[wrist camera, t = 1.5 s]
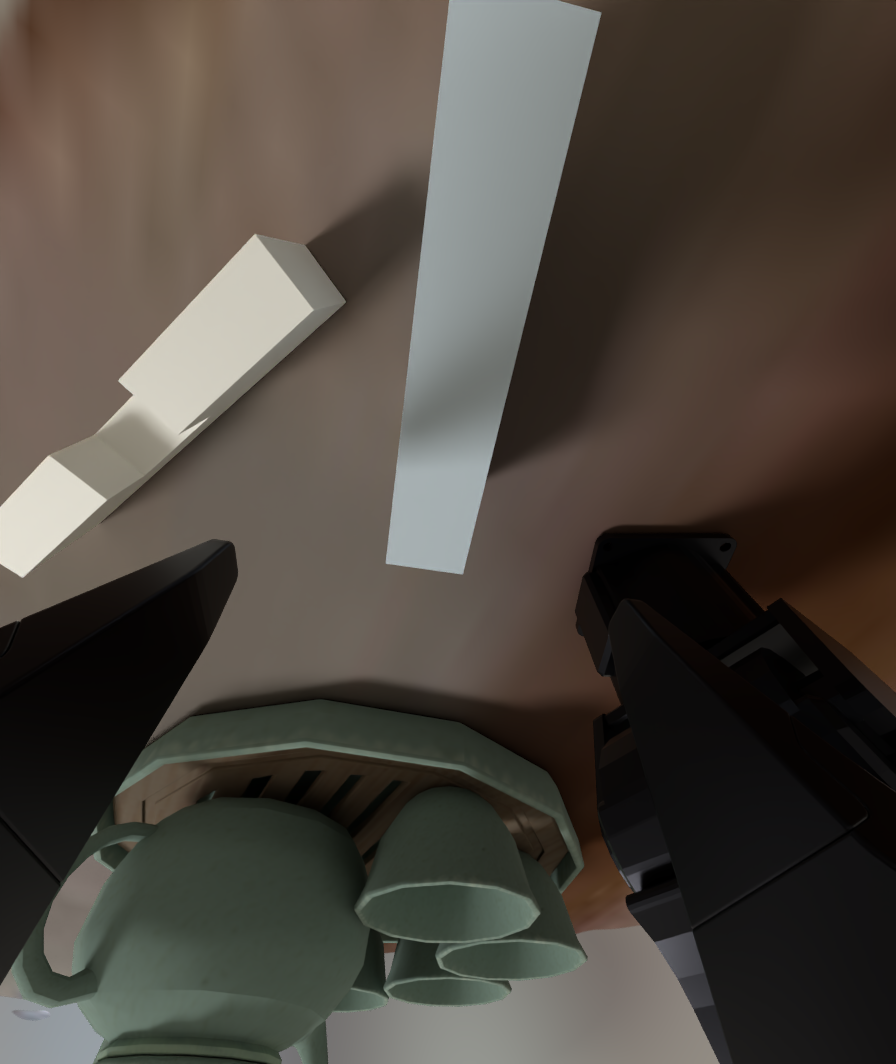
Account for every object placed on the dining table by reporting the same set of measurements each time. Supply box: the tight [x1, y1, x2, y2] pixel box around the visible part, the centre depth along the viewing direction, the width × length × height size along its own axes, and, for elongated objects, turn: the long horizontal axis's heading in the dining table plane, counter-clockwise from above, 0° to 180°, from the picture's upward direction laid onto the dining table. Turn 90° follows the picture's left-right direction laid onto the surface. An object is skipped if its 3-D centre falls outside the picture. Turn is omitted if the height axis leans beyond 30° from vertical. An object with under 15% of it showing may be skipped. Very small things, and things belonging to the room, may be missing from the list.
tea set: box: [12, 699, 587, 1064], centre depth 30 cm, size 40×40×16 cm
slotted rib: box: [0, 234, 346, 577], centre depth 14 cm, size 16×2×4 cm, turn 125°
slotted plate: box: [386, 0, 602, 574], centre depth 12 cm, size 12×2×6 cm, turn 170°
